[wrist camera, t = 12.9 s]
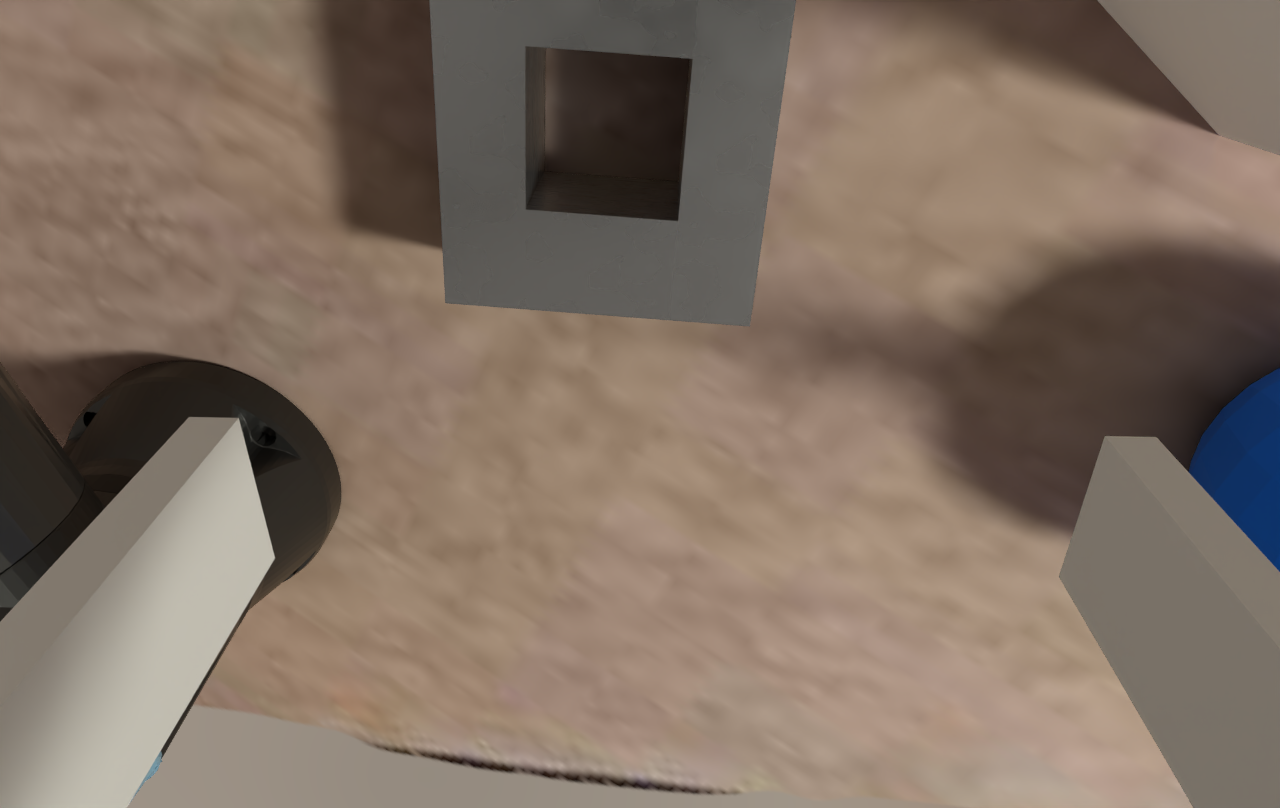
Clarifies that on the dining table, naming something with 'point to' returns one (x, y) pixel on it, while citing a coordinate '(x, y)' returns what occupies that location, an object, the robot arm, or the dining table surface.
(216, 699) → the dining table surface
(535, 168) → the housing
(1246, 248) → the dining table surface
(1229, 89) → the milk
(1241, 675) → the robot arm
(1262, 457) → the vase
